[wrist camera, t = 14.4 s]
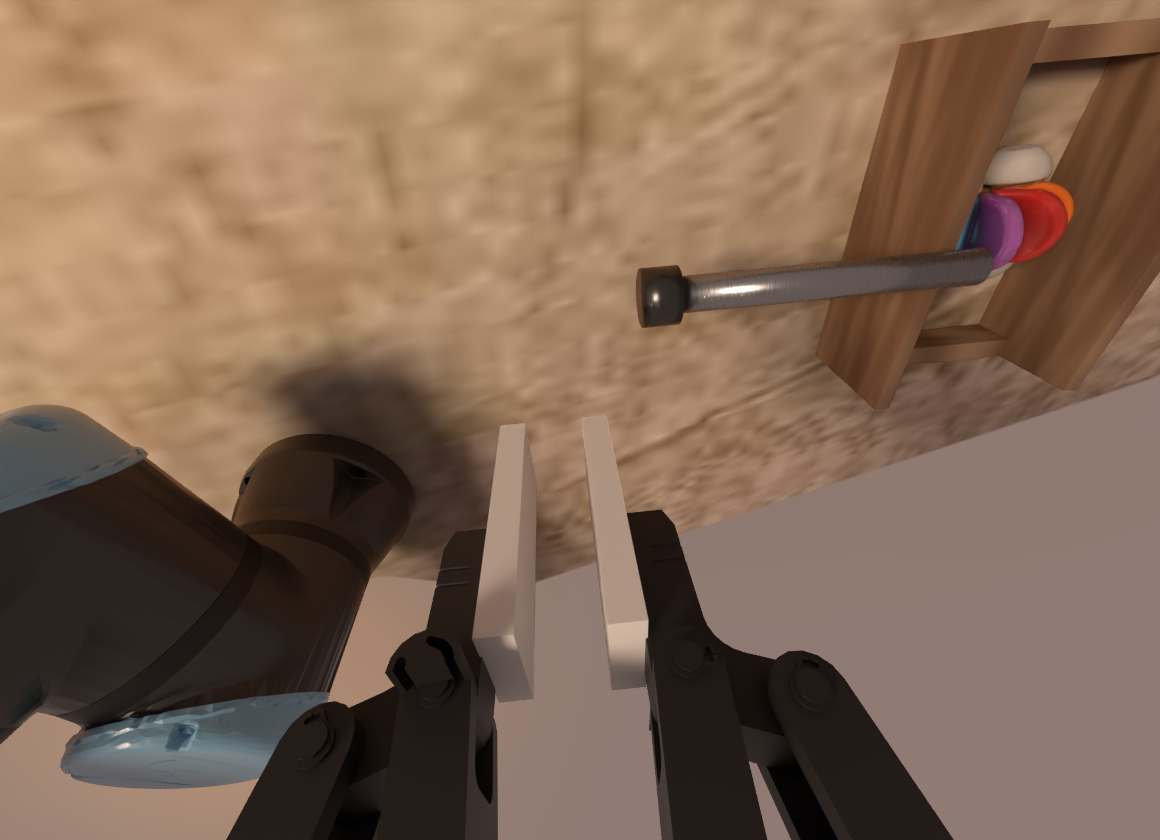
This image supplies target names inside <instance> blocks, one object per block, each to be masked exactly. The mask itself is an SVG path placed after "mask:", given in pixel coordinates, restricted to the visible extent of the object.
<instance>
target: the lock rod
mask: <svg viewBox="0 0 1160 840" xmlns="http://www.w3.org/2000/svg"><path fill="white" fill-rule="evenodd" d="M992 268H993V256H992V254H991V252H990V251H989V250H987V249H985V248H971V249H961V250H950V251H940V252H929V253H919V254H908V255H898V256H887V257H877V258H866V259H856V260H845V261H835V262H824V263H814V264H803V265H793V266H782V267H772V268H761V269H751V270H740V271H730V272H719V273H709V274H698V275H688V276H682V273H681V270H680V268H679V266H678V265H671V266H661V267H650V268H640V269H639V270H638V272H637V279H636V302H637V312H638V318H639V322H640V325H641V327H642V328H648V327H658V326H668V325H678V324H680V323H681V320H682V317H683V313H690V312H701V311H711V310H721V309H732V308H742V307H752V306H763V305H773V304H784V303H794V302H804V301H815V300H825V299H835V298H846V297H856V296H867V295H877V294H887V293H898V292H908V291H919V290H929V289H939V288H950V287H960V286H970V285H977V284H980V283H982V282H983V281H985V280H986V279H987V278H988V276H989V275H990V273H991V271H992Z"/></svg>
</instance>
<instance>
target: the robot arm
mask: <svg viewBox="0 0 1160 840" xmlns="http://www.w3.org/2000/svg"><path fill="white" fill-rule="evenodd" d="M582 428H583V439H584V451H585V462H586V474H587V485H588V493H589V502H590V510H591V519H592V527H593V536H594V544H595V552H596V561H597V569H598V577H599V586H600V595H601V603H602V612H603V620H604V628H605V637H606V646H607V653H608V663H609V670H610V679H611V688H612V690H620V689H629V688H638V687H646V684H647V689H648V695H649V701H650V706H651V707H650V724H649V730H651V731H652V743H653V753H654V763H655V774H656V783H657V795H658V805H659V815H660V825H661V836H662V840H767V836H766V832H765V828H764V824H763V819H762V815H761V811H760V807H759V803H758V799H757V794H756V791H755V786H754V782H753V778H752V773H751V769H750V765H749V761H750V762H753V763H757V765H758V767H759V769H760V772H761V774H762V776H763V778H764V780H765V782H766V785H767V787H768V789H769V791H770V794H771V796H772V798H773V800H774V802H775V805H776V807H777V809H778V811H779V813H780V816H781V818H782V820H783V822H784V824H785V827H786V829H787V831H788V833H789V835H790V838H791V840H953V838H952V837H951V835H950V834H949V832H948V831H947V829H946V828H945V826H944V825H943V823H942V822H941V820H940V819H939V817H938V816H937V814H936V813H935V812H934V810H933V809H932V807H931V806H930V804H929V803H928V802H927V800H926V798H925V797H924V795H923V794H922V792H921V791H920V789H919V788H918V786H917V785H916V784H915V782H914V781H913V779H912V778H911V776H910V775H909V773H908V772H907V770H906V769H905V767H904V766H903V764H902V763H901V761H900V760H899V759H898V757H897V756H896V754H895V753H894V751H893V750H892V748H891V747H890V745H889V744H888V742H887V741H886V739H885V738H884V736H883V735H882V733H881V732H880V730H879V729H878V728H877V726H876V725H875V723H874V722H873V720H872V719H871V717H870V716H869V714H868V713H867V711H866V710H865V708H864V707H863V705H862V704H861V703H860V701H859V700H858V698H857V697H856V695H855V694H854V692H853V691H852V689H851V688H850V686H849V685H848V683H847V682H846V681H845V679H844V678H843V677H842V675H841V674H840V673H839V672H838V671H837V670H836V669H835V668H834V666H833V665H831V664H830V663H828V662H827V661H825V660H824V659H822V658H821V657H819V656H818V655H815V654H812V653H808V652H805V651H788V652H786V653H785V654H783V655H781V656H779V657H778V658H777V659H776V660H775V659H770V658H766V657H762V656H757V655H753V654H748V653H745V652H742V651H739V650H736V649H733V648H731V647H730V646H728V645H726V644H725V643H723V642H722V641H721V640H720V639H718V638H717V637H716V636H715V635H714V634H713V633H712V631H711V630H710V628H709V627H708V626H707V623H706V621H705V619H704V617H703V614H702V611H701V608H700V604H699V601H698V598H697V595H696V592H695V588H694V585H693V582H692V579H691V576H690V573H689V569H688V566H687V563H686V561H685V557H684V553H683V551H682V547H681V546H680V541H679V538H678V534H677V531H676V528H675V525H674V523H673V522H672V521H671V520H670V519H669V518H668V517H667V515H666V514H665V513H664V512H663V511H662V510H653V511H644V512H634V513H626V509H625V504H624V499H623V494H622V489H621V484H620V479H619V475H618V470H617V465H616V460H615V455H614V450H613V445H612V440H611V436H610V431H609V426H608V421H607V416H606V415H602V416H592V417H582ZM147 455H148V453H147V452H146V451H145V450H144V449H142V448H139V447H133V446H131V445H130V444H128V443H127V442H125V441H124V440H122V439H121V438H119V437H118V436H117V435H115V434H114V433H112V432H111V431H109V430H108V429H106V428H105V427H103V426H102V425H100V424H99V423H97V422H96V421H94V420H93V419H92V418H90V417H89V416H87V415H85V414H84V413H82V412H80V411H77V410H75V409H72V408H69V407H64V406H58V405H32V406H25V407H21V408H17V409H14V410H10V411H7V412H4V413H1V414H0V744H1V743H2V742H3V741H4V740H6V739H7V738H8V737H9V736H10V735H11V734H12V733H13V732H14V731H15V730H16V729H17V728H19V726H21V725H22V724H23V723H24V722H26V721H27V720H28V718H30V717H31V716H32V715H34V714H35V713H37V712H40V713H44V714H49V715H53V716H56V717H59V718H62V719H65V720H68V721H70V722H73V723H76V724H78V725H79V726H80V727H81V728H82V729H81V730H80V731H79V733H78V734H76V735H74V736H73V737H72V738H71V739H70V740H69V741H68V743H67V744H66V751H65V753H64V755H63V757H62V760H61V766H60V767H61V769H62V771H63V772H64V773H65V774H71V777H72V778H74V779H76V780H79V781H83V782H87V783H91V784H97V785H104V786H112V787H125V788H145V789H148V788H149V789H179V788H195V787H209V786H218V785H226V784H233V783H239V782H244V781H249V780H253V779H257V778H259V780H258V782H257V784H256V785H255V787H254V789H253V791H252V793H251V795H250V797H249V798H248V800H247V802H246V804H245V806H244V808H243V810H242V811H241V813H240V815H239V817H238V819H237V821H236V823H235V825H234V826H233V828H232V830H231V832H230V834H229V836H228V838H227V839H226V840H498V821H497V820H498V815H497V814H498V809H497V805H498V804H497V802H498V799H497V798H498V797H497V729H496V723H495V720H494V718H493V716H494V703H495V694H496V697H497V699H498V701H499V702H508V701H518V700H527V699H533V698H534V697H533V696H534V633H535V632H534V631H535V630H534V629H535V572H536V510H537V485H536V480H535V474H534V469H533V463H532V458H531V452H530V447H529V441H528V436H527V430H526V425H525V423H521V424H511V425H501V426H500V432H499V440H498V447H497V455H496V462H495V470H494V477H493V485H492V492H491V500H490V507H489V515H488V522H487V529H479V530H469V531H459V532H455V534H454V535H453V537H452V538H451V540H450V541H449V543H448V544H447V546H446V547H445V549H444V552H443V557H442V561H441V566H440V572H439V575H438V579H437V584H436V585H437V588H436V589H435V593H434V597H433V602H432V606H431V611H430V615H429V619H428V624H427V629H426V630H425V631H422V632H420V633H417V634H414V635H413V636H411V637H410V638H409V639H407V640H406V641H405V642H403V643H402V644H401V645H400V646H399V648H398V649H397V650H396V652H395V653H394V654H393V656H392V657H391V659H390V661H389V664H388V667H387V669H386V672H385V673H386V675H387V676H388V677H389V679H390V680H391V682H392V683H393V684H394V687H392V688H390V689H388V690H387V691H385V692H383V693H381V694H379V695H376V696H374V697H372V698H370V699H368V700H365V701H363V702H361V703H359V704H357V705H354V706H352V707H350V708H348V707H347V706H346V705H344V704H342V703H339V702H335V701H333V702H327V701H328V698H329V695H330V694H329V693H330V690H331V687H332V684H333V681H334V679H335V675H336V673H337V670H338V667H339V664H340V661H341V658H342V656H343V653H344V650H345V647H346V644H347V641H348V638H349V635H350V633H351V630H352V627H353V624H354V621H355V618H356V615H357V612H358V609H359V606H360V604H361V601H362V598H363V595H364V592H365V589H366V587H367V584H368V581H369V579H370V576H371V574H372V573H373V571H374V570H375V569H376V568H377V566H378V565H379V564H380V563H381V561H382V560H383V559H384V558H385V556H386V555H387V554H388V552H389V551H390V550H391V548H392V547H393V546H394V545H395V544H396V543H397V542H398V541H399V540H400V539H401V537H402V536H403V534H404V533H405V531H406V529H407V527H408V524H409V521H410V518H411V515H412V512H413V508H414V494H413V490H412V488H411V485H410V483H409V481H408V479H407V478H406V476H405V475H404V474H403V472H402V471H401V470H400V469H399V468H398V467H397V466H396V465H395V464H394V463H393V462H392V461H390V460H389V459H388V458H386V457H385V456H383V455H382V454H380V453H379V452H377V451H375V450H373V449H371V448H369V447H367V446H365V445H363V444H360V443H357V442H355V441H351V440H348V439H344V438H340V437H335V436H328V435H300V436H294V437H289V438H286V439H283V440H280V441H278V442H275V443H274V444H272V445H270V446H269V447H267V448H266V449H265V450H264V451H262V453H261V454H260V455H259V456H258V457H257V458H256V460H255V461H254V462H253V463H252V465H251V466H250V467H249V468H248V470H247V471H246V473H245V475H244V477H243V479H242V481H241V485H240V489H239V497H238V499H237V502H236V505H235V508H234V512H233V516H232V520H231V521H230V520H228V519H227V518H226V517H224V516H223V515H222V514H220V513H219V512H218V511H216V510H215V509H214V508H212V507H211V506H210V505H208V504H207V503H206V502H204V501H203V500H202V499H200V498H199V497H198V496H196V495H195V494H194V493H192V492H191V491H190V490H188V489H187V488H186V487H184V486H183V485H182V484H180V483H179V482H178V481H177V480H175V479H174V478H173V477H171V476H170V475H169V474H167V473H166V472H165V471H163V470H162V469H161V468H159V467H158V466H157V465H155V464H154V463H153V462H151V461H150V460H149V459H147V458H146V457H147ZM326 702H327V703H326Z"/></svg>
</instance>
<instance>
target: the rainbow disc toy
mask: <svg viewBox="0 0 1160 840" xmlns="http://www.w3.org/2000/svg"><path fill="white" fill-rule="evenodd" d="M1051 171H1052V160H1051V157H1050V155H1049V153H1048V152H1047V151H1046V150H1045V149H1044V148H1042V147H1041V146H1039V145H1033V144H1025V145H1015V146H1008V147H1004V148H1001V149H998V150H996V152H995V154H994V157H993V159H992V162H991V164H990V166H989V169H988V171H987V174H986V176H985V178H984V181H983V183H982V186H981V188H980V190H979V193H978V195H977V198H976V200H975V202H974V205H973V207H972V209H971V212H970V214H969V217H968V219H967V221H966V224H965V226H964V229H963V231H962V233H961V236H960V238H959V241H958V243H957V245H956V248H955V250H961V249H971V248H985V249H987V250H989V251H990V252H991V254H992V256H993V268H992V271H991V273H990V275H989V276H988V278H990V277H993V276H996V275H998V274H1000V273H1002V272H1004V271H1005V270H1007V269H1008V268H1010V267H1011V266H1012V265H1013V264H1014V263H1018V262H1023V261H1027V260H1030V259H1033V258H1035V257H1037V256H1039V255H1041V254H1043V253H1045V252H1046V251H1048V250H1049V249H1051V248H1052V247H1053V246H1054V245H1055V244H1056V243H1057V242H1058V241H1059V240H1060V239H1061V237H1062V236H1063V235H1064V233H1065V231H1066V229H1067V225H1068V223H1069V222H1070V220H1071V218H1072V216H1073V213H1074V201H1073V198H1072V196H1071V194H1070V193H1069V192H1068V191H1067V190H1066V189H1065V188H1064V187H1062V186H1060V185H1058V184H1055V183H1052V182H1044V181H1043V180H1044V179H1045V178H1046V177H1048V176H1049V175H1050V174H1051ZM983 185H988V187H984V188H983ZM939 289H941V288H939ZM939 289H938V290H939Z"/></svg>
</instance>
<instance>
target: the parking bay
mask: <svg viewBox="0 0 1160 840" xmlns="http://www.w3.org/2000/svg"><path fill="white" fill-rule="evenodd" d="M1049 23H1050V20H1046V21H1035V22H1026V23H1020V24H1014V25H1009V26H1003V27H997V28H992V29H986V30H980V31H974V32H969V33H963V34H957V35H952V36H946V37H940V38H934V39H929V40H923V41H917V42H912V43H906V44H901V47H900V51H899V54H898V58H897V61H896V65H895V69H894V72H893V76H892V80H891V83H890V87H889V91H888V94H887V98H886V101H885V105H884V109H883V112H882V116H881V120H880V123H879V127H878V131H877V134H876V138H875V142H874V145H873V149H872V152H871V156H870V160H869V163H868V167H867V171H866V174H865V178H864V182H863V185H862V189H861V192H860V196H859V200H858V203H857V207H856V211H855V214H854V218H853V222H852V225H851V229H850V232H849V236H848V240H847V243H846V247H845V251H844V254H843V258H842V261H845V260H856V259H866V258H877V257H887V256H898V255H908V254H919V253H929V252H940V251H950V250H955V248H956V245H957V243H958V241H959V238H960V236H961V233H962V231H963V229H964V226H965V224H966V221H967V219H968V217H969V214H970V212H971V209H972V207H973V205H974V202H975V200H976V198H977V195H978V193H979V190H980V188H981V186H982V183H983V181H984V178H985V176H986V174H987V171H988V169H989V166H990V164H991V162H992V159H993V157H994V154H995V152H996V150H997V147H998V145H999V142H1000V140H1001V138H1002V135H1003V133H1004V130H1005V128H1006V126H1007V123H1008V121H1009V119H1010V116H1011V114H1012V111H1013V109H1014V107H1015V104H1016V102H1017V99H1018V97H1019V95H1020V92H1021V90H1022V87H1023V85H1024V83H1025V80H1026V78H1027V75H1028V73H1029V71H1030V68H1031V66H1032V63H1043V62H1054V61H1065V60H1076V59H1087V58H1099V57H1110V56H1112V58H1111V60H1110V62H1109V64H1108V66H1107V68H1106V70H1105V72H1104V74H1103V76H1102V78H1101V80H1100V82H1099V84H1098V86H1097V88H1096V90H1095V92H1094V94H1093V96H1092V98H1091V100H1090V102H1089V104H1088V106H1087V108H1086V110H1085V112H1084V114H1083V116H1082V118H1081V120H1080V122H1079V124H1078V126H1077V128H1076V130H1075V132H1074V134H1073V136H1072V138H1071V140H1070V142H1069V144H1068V146H1067V148H1066V150H1065V152H1064V154H1063V156H1062V158H1061V160H1060V162H1059V164H1058V166H1057V168H1056V170H1055V172H1054V174H1053V176H1052V178H1051V180H1050V182H1052V183H1055V184H1058V185H1060V186H1062V187H1064V188H1065V189H1066V190H1067V191H1068V192H1069V193H1070V194H1071V196H1072V198H1073V201H1074V213H1073V216H1072V218H1071V220H1070V222H1069V223H1068V225H1067V229H1066V231H1065V233H1064V235H1063V236H1062V237H1061V239H1060V240H1059V241H1058V242H1057V243H1056V244H1055V245H1054V246H1053V247H1052V248H1051V249H1049V250H1048V251H1046V252H1045V253H1043V254H1041V255H1039V256H1037V257H1035V258H1033V259H1030V260H1027V261H1023V262H1018V263H1014V264H1013V265H1012V266H1011V267H1010V268H1008V269H1007V270H1006V271H1005V273H1004V275H1003V277H1002V279H1001V281H1000V283H999V285H998V287H997V289H996V291H995V293H994V295H993V297H992V299H991V301H990V303H989V305H988V307H987V309H986V311H985V313H984V315H983V317H982V319H981V321H980V323H979V324H978V325H968V326H958V327H948V328H937V329H927V330H921V329H922V327H923V324H924V322H925V320H926V317H927V315H928V312H929V310H930V308H931V305H932V303H933V300H934V298H935V296H936V293H937V291H938V289H929V290H919V291H908V292H898V293H887V294H877V295H867V296H856V297H846V298H835V299H831V302H830V305H829V309H828V313H827V316H826V320H825V323H824V327H823V331H822V334H821V338H820V342H819V345H818V349H817V353H816V356H817V357H818V358H819V359H820V360H821V361H822V362H823V363H825V364H826V365H827V366H828V367H829V368H830V369H831V370H832V371H833V372H834V373H836V374H837V375H838V376H839V377H840V378H841V379H842V380H843V381H844V382H845V383H847V384H848V385H849V386H850V387H851V388H852V389H853V390H854V391H855V392H856V393H857V394H859V395H860V396H861V397H862V398H863V399H864V400H865V401H866V402H867V403H868V404H870V405H871V406H872V407H873V408H874V409H884V408H889V406H890V403H891V401H892V399H893V396H894V394H895V391H896V389H897V387H898V384H899V382H900V379H901V377H902V375H903V372H904V370H905V367H906V365H912V364H922V363H932V362H942V361H952V360H962V359H972V358H983V357H993V356H1001V357H1003V358H1004V359H1006V360H1008V361H1010V362H1012V363H1014V364H1015V365H1017V366H1019V367H1021V368H1023V369H1025V370H1027V371H1028V372H1030V373H1032V374H1034V375H1036V376H1038V377H1039V378H1041V379H1043V380H1045V381H1047V382H1049V383H1050V384H1052V385H1054V386H1056V387H1058V388H1060V389H1061V390H1063V391H1064V390H1074V389H1077V388H1078V387H1079V385H1080V384H1081V383H1082V381H1083V380H1084V378H1085V377H1086V375H1087V374H1088V373H1089V371H1090V370H1091V368H1092V367H1093V365H1094V364H1095V363H1096V361H1097V360H1098V358H1099V357H1100V356H1101V354H1102V353H1103V351H1104V350H1105V348H1106V347H1107V346H1108V344H1109V343H1110V341H1111V340H1112V339H1113V337H1114V336H1115V334H1116V333H1117V331H1118V330H1119V329H1120V327H1121V326H1122V324H1123V323H1124V321H1125V320H1126V319H1127V317H1128V316H1129V314H1130V313H1131V312H1132V310H1133V309H1134V307H1135V306H1136V304H1137V303H1138V302H1139V300H1140V299H1141V297H1142V296H1143V295H1144V293H1145V292H1146V290H1147V289H1148V287H1149V286H1150V285H1151V283H1152V282H1153V280H1154V279H1155V277H1156V276H1157V275H1158V273H1159V272H1160V18H1157V19H1146V20H1135V21H1124V22H1112V23H1101V24H1090V25H1078V26H1067V27H1056V28H1048V25H1049Z"/></svg>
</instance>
